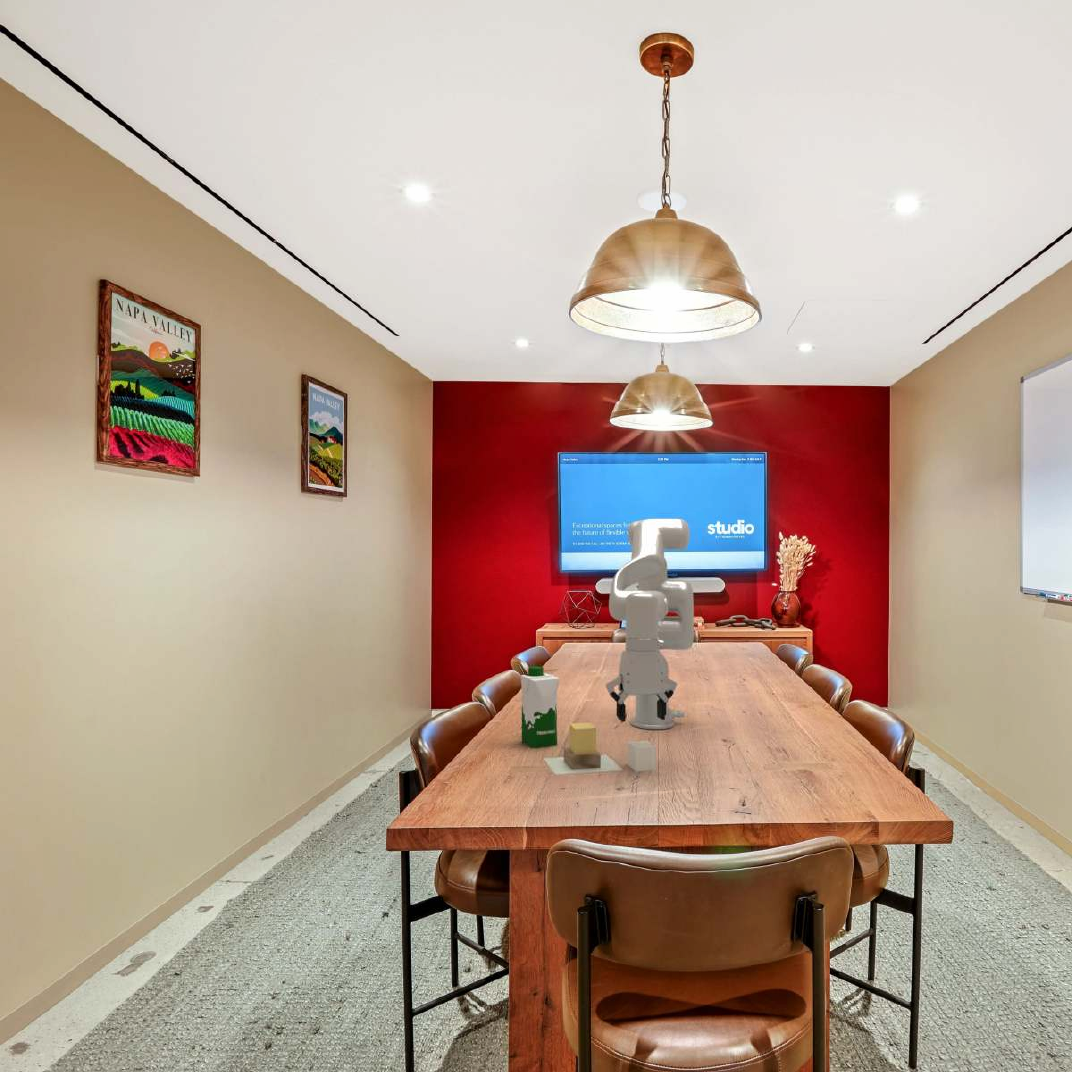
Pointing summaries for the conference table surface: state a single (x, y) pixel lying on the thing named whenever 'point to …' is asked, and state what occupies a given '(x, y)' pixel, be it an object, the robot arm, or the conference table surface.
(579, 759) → the walnut base brick
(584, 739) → the mustard brick
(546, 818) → the conference table surface
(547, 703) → the milk carton
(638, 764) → the cream brick
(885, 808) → the conference table surface
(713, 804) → the conference table surface
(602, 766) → the plate
